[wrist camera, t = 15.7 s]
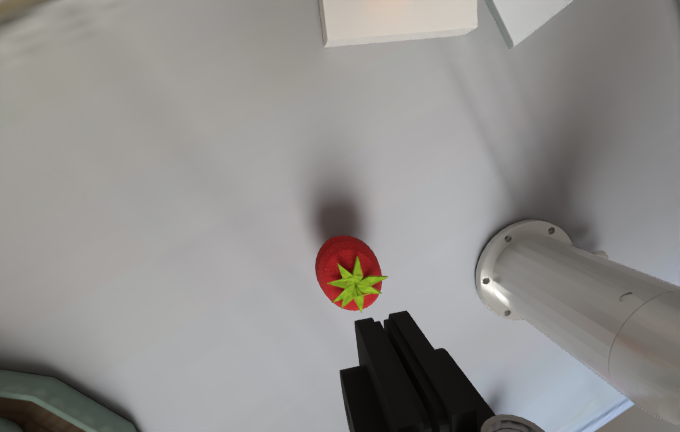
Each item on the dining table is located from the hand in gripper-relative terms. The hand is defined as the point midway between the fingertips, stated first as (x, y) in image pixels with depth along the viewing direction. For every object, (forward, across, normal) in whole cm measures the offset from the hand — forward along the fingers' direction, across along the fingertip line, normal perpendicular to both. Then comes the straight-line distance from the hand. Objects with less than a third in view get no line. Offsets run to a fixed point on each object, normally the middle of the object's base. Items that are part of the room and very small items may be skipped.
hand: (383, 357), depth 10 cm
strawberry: (+25, -2, +6) cm, 26 cm away
